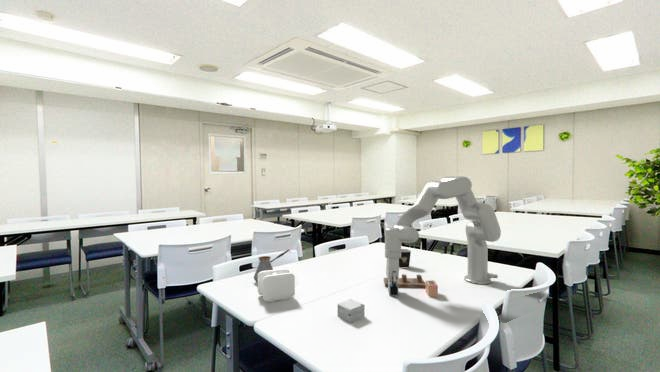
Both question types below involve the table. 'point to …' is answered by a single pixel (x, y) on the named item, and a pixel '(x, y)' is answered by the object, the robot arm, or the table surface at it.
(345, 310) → the small box
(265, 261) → the coffee pot
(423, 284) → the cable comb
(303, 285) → the table surface
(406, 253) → the coffee mug
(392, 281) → the slate plug
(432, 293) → the terracotta plug
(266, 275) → the cable organizer
